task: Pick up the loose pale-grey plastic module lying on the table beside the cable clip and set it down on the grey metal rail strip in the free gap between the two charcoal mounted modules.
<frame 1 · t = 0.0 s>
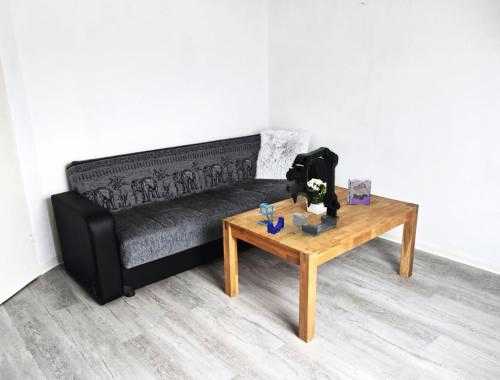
hand: (301, 205, 220), 15 cm above the table, fingers open, 9 cm apart
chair: (266, 223, 237), on the table
cable clip: (276, 230, 226), on the table
rail: (319, 229, 226), on the table
module: (300, 225, 233), on the table
candy box: (358, 203, 268), on the table
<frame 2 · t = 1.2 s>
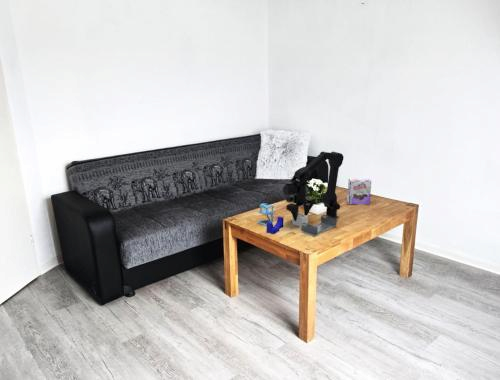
hand: (300, 218, 232), 4 cm above the table, fingers open, 9 cm apart
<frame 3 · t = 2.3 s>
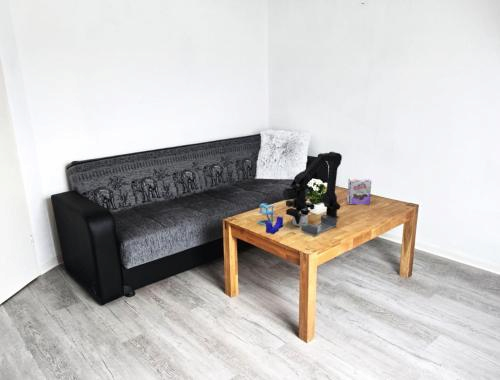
hand: (300, 223, 233), 1 cm above the table, fingers closed on module, 4 cm apart
module: (300, 224, 233), on the table, touching gripper
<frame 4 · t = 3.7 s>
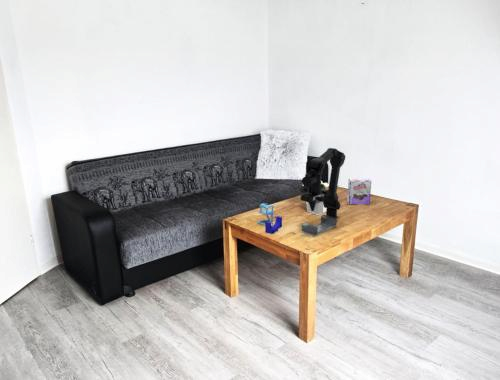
hand: (315, 210, 224), 11 cm above the table, fingers closed on module, 4 cm apart
module: (314, 211, 225), point 10 cm above the table, touching gripper
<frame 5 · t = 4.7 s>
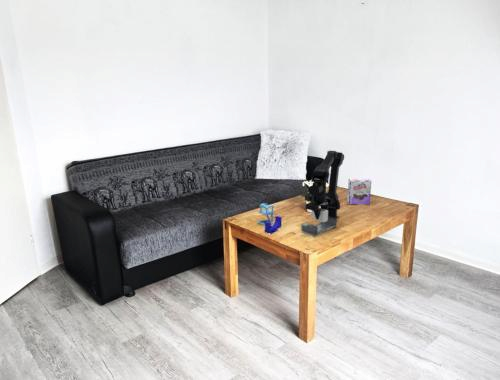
hand: (319, 218, 224), 7 cm above the table, fingers closed on module, 4 cm apart
module: (319, 219, 224), point 6 cm above the table, touching gripper
when the fingers open (3 cm above the table, at t = 5.6 s): module drops 1 cm, resting on rail.
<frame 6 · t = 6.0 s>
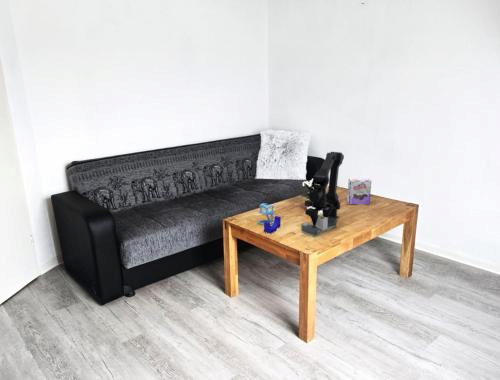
hand: (319, 223, 225), 3 cm above the table, fingers open, 9 cm apart
module: (319, 227, 226), point 1 cm above the table, touching rail
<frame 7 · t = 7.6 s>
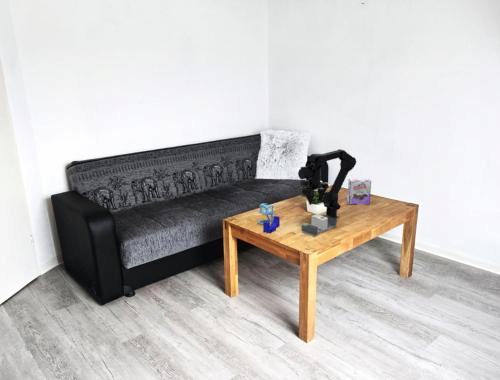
hand: (315, 202, 234), 12 cm above the table, fingers open, 9 cm apart
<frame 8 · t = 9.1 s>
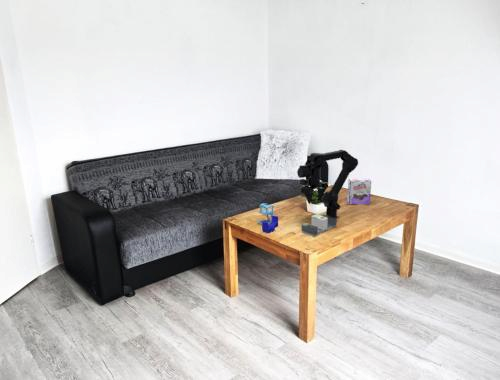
hand: (314, 201, 235), 12 cm above the table, fingers open, 9 cm apart
at the end: module inside the target area on the rail (0.0 cm from its centre), point 1.3 cm above the rail's base; module touching rail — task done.
